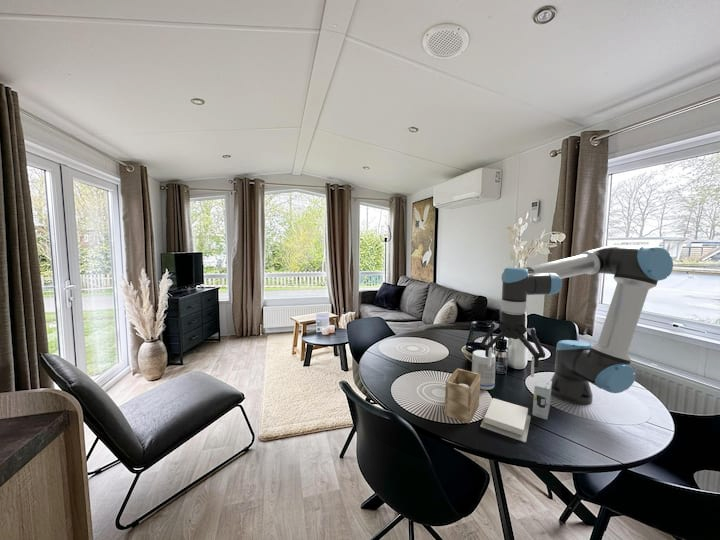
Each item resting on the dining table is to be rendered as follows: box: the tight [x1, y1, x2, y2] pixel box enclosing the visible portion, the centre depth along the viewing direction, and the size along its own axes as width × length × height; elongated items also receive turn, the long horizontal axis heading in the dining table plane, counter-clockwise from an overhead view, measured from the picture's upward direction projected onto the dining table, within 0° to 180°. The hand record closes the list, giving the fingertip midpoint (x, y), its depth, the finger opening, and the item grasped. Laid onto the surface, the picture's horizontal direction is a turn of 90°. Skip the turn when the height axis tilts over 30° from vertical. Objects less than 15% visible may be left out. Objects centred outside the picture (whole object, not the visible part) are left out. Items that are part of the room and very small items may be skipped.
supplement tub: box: [471, 349, 496, 391], centre depth 130 cm, size 10×10×15 cm
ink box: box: [531, 377, 552, 420], centre depth 110 cm, size 9×5×12 cm, turn 141°
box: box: [444, 368, 481, 424], centre depth 111 cm, size 9×14×13 cm, turn 145°
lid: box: [483, 397, 529, 435], centre depth 105 cm, size 12×15×3 cm
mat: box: [480, 404, 532, 444], centre depth 105 cm, size 14×17×1 cm
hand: (510, 370), depth 104 cm, fingers open, 13 cm apart
